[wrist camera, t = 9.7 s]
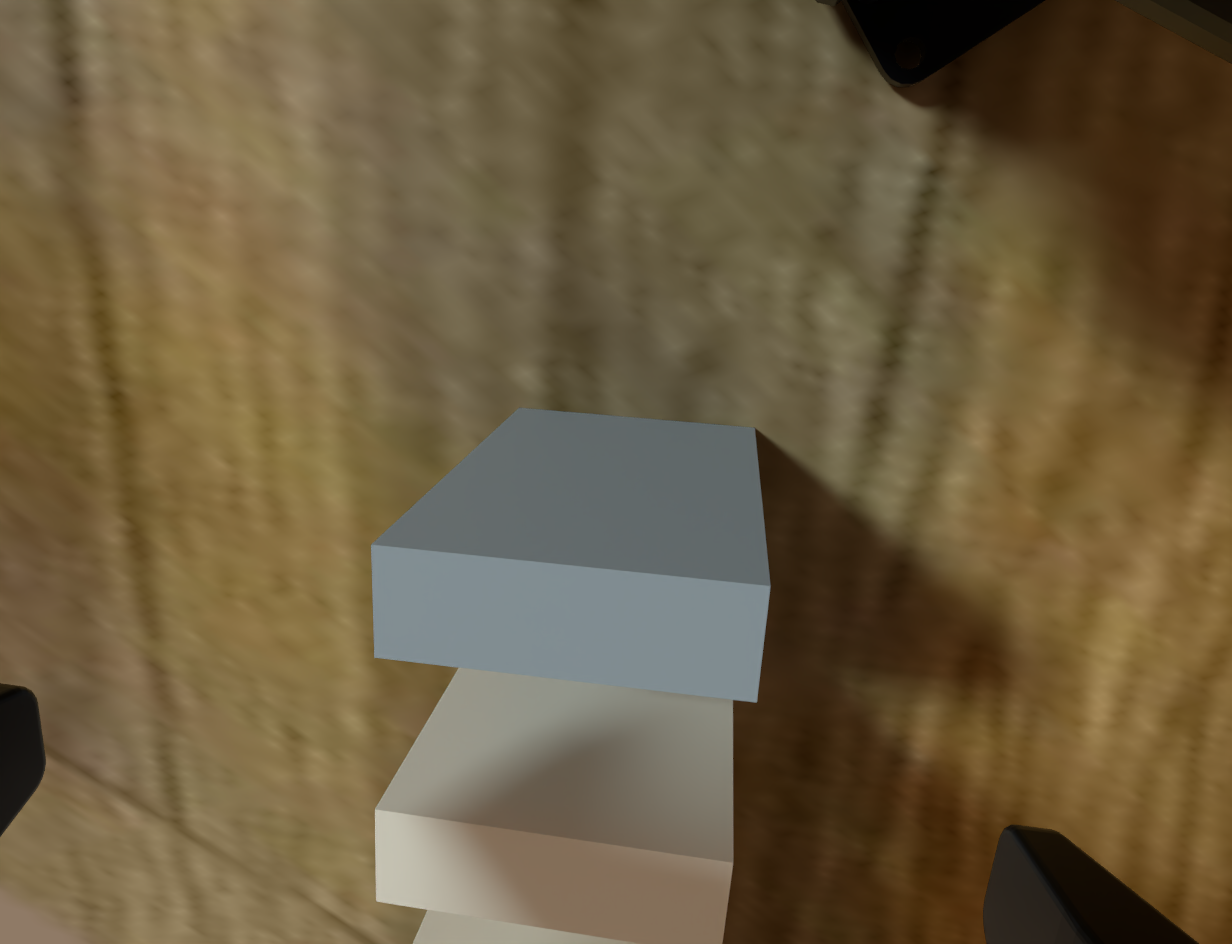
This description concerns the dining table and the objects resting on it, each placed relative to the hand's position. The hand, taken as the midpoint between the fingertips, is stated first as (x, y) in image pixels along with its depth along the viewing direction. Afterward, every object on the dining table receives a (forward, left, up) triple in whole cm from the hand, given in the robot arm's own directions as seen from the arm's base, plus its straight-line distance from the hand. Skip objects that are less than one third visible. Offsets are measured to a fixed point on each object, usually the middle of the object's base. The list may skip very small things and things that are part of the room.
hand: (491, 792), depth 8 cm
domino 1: (0, 0, -11) cm, 11 cm away
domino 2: (+2, +3, -11) cm, 12 cm away
